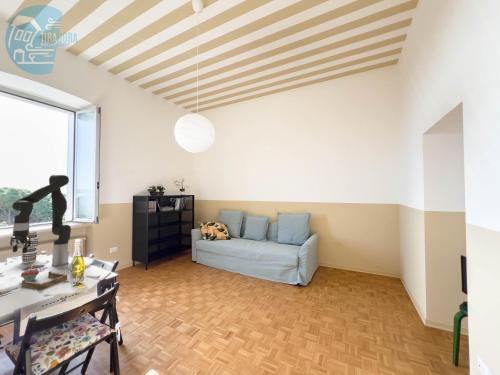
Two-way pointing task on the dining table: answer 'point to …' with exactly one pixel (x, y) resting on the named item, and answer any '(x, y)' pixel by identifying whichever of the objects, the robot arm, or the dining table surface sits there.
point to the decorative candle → (31, 248)
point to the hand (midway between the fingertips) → (19, 252)
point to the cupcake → (30, 274)
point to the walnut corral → (40, 286)
